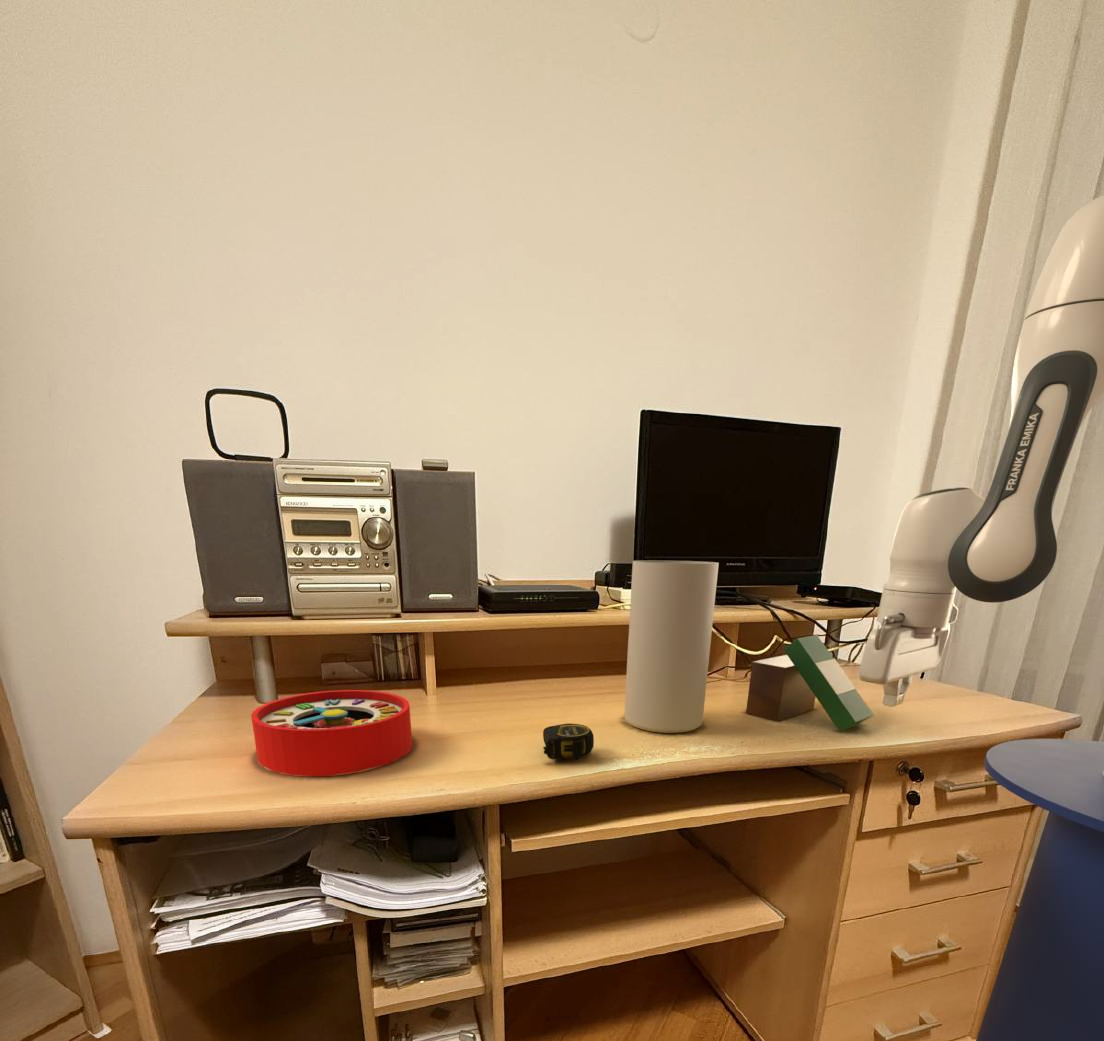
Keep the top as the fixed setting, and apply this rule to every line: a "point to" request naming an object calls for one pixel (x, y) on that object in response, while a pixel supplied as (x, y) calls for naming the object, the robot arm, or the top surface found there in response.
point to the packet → (828, 682)
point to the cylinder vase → (669, 644)
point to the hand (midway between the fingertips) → (892, 704)
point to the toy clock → (332, 732)
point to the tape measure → (568, 741)
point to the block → (778, 690)
